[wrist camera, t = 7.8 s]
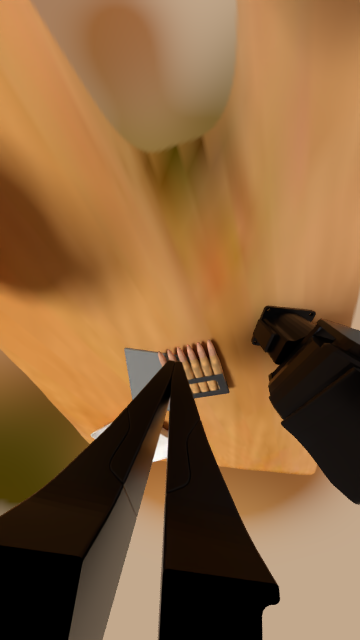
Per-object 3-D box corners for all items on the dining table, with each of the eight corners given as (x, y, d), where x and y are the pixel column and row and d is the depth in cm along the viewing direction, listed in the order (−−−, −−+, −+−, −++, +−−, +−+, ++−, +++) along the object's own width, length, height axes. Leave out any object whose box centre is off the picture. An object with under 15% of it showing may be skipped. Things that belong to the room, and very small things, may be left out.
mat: (193, 357, 25) (193, 358, 24) (184, 412, 33) (184, 413, 33) (125, 347, 25) (124, 348, 25) (133, 403, 34) (133, 404, 34)
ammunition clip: (227, 384, 27) (213, 335, 22) (229, 393, 25) (215, 341, 20) (177, 392, 29) (155, 349, 24) (176, 400, 27) (152, 356, 23)
